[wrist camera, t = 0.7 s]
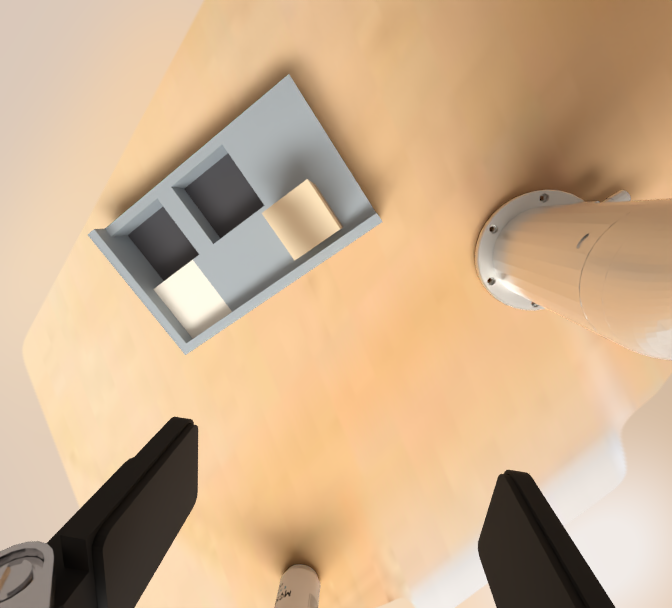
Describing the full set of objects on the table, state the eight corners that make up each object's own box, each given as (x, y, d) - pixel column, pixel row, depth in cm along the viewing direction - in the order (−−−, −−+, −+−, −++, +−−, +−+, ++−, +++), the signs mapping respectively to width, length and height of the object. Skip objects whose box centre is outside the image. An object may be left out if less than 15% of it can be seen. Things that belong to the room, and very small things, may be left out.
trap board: (295, 86, 33) (285, 66, 29) (380, 221, 36) (382, 221, 32) (118, 232, 39) (87, 234, 34) (203, 340, 41) (185, 355, 37)
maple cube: (315, 184, 33) (307, 178, 28) (343, 227, 34) (340, 228, 29) (275, 213, 34) (261, 213, 29) (303, 254, 35) (294, 260, 30)
